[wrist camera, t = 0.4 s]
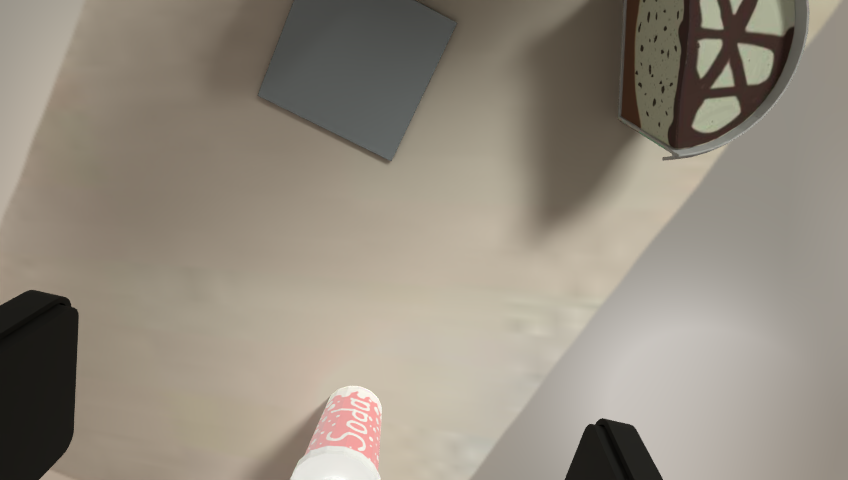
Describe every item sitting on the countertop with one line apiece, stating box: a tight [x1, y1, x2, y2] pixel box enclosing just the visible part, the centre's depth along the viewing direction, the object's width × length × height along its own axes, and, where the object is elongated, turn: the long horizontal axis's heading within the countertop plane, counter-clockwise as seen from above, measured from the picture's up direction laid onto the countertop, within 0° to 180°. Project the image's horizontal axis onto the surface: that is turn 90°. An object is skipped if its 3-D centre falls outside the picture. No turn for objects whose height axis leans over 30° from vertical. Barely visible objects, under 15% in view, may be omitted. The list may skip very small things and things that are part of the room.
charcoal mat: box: [258, 0, 457, 161], centre depth 36 cm, size 10×10×1 cm
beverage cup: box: [290, 386, 382, 480], centre depth 38 cm, size 6×6×14 cm
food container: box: [618, 0, 809, 160], centre depth 31 cm, size 12×6×10 cm, turn 3°
